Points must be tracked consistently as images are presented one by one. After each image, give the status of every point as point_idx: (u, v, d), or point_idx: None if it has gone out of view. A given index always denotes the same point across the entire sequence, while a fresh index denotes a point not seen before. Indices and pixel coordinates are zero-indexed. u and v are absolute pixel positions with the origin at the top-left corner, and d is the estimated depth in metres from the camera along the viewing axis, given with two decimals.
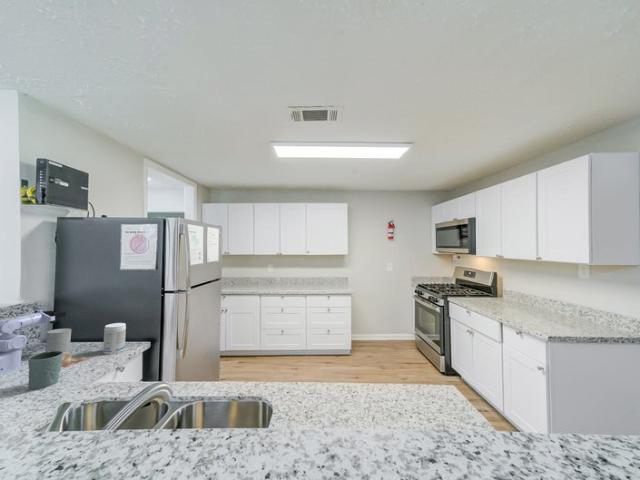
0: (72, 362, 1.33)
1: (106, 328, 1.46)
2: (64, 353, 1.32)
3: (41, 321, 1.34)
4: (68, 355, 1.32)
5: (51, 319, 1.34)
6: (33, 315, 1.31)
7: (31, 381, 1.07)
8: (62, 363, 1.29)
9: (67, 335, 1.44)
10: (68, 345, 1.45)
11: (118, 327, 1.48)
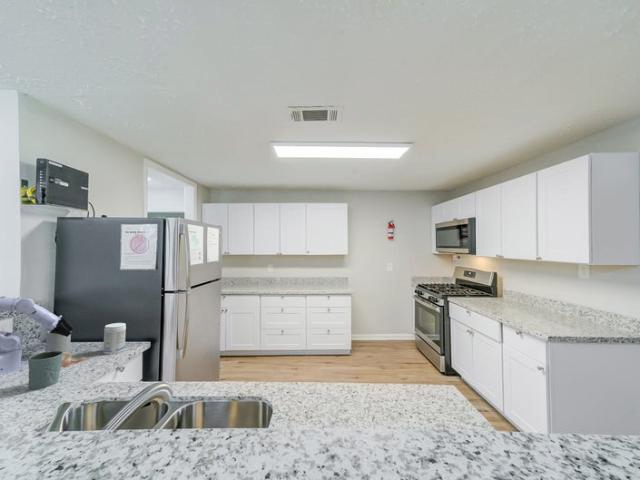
0: (72, 362, 1.33)
1: (106, 328, 1.46)
2: (64, 353, 1.32)
3: (48, 324, 1.31)
4: (68, 355, 1.32)
5: (50, 326, 1.28)
6: (50, 314, 1.32)
7: (31, 381, 1.07)
8: (62, 363, 1.29)
9: None
10: (68, 345, 1.45)
11: (118, 327, 1.48)
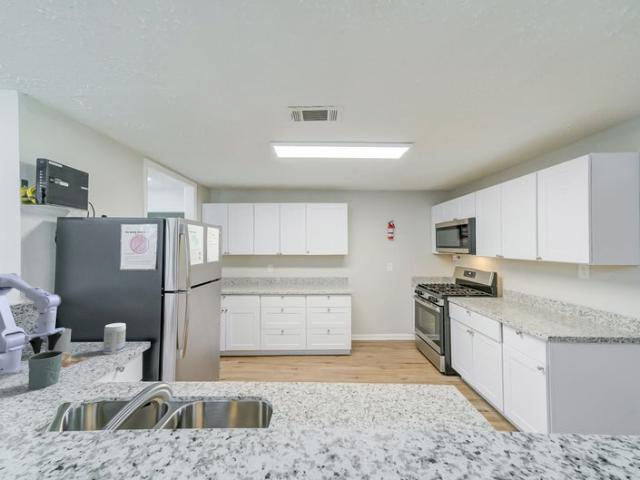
0: (72, 362, 1.33)
1: (106, 328, 1.46)
2: (64, 353, 1.32)
3: (37, 331, 1.22)
4: (68, 355, 1.32)
5: (26, 336, 1.17)
6: (47, 325, 1.23)
7: (31, 381, 1.07)
8: (62, 363, 1.29)
9: (67, 335, 1.44)
10: (68, 345, 1.45)
11: (118, 327, 1.48)
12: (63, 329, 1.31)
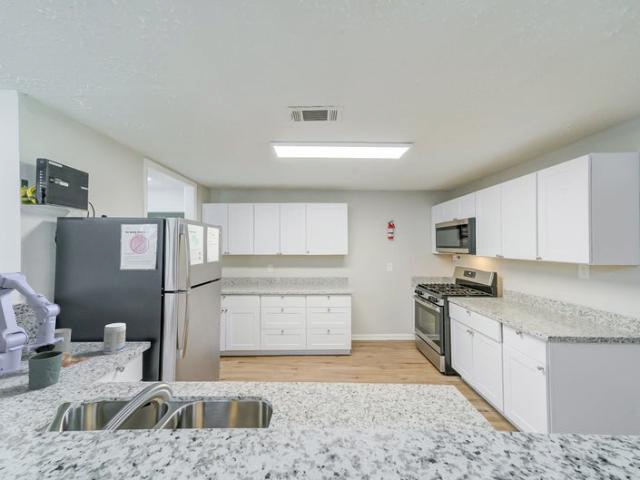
0: (72, 362, 1.33)
1: (106, 328, 1.46)
2: (64, 353, 1.32)
3: (36, 341, 1.22)
4: (68, 355, 1.32)
5: (25, 347, 1.17)
6: (46, 335, 1.22)
7: (31, 381, 1.07)
8: (62, 363, 1.29)
9: (67, 335, 1.44)
10: (68, 345, 1.45)
11: (118, 327, 1.48)
12: (62, 339, 1.30)
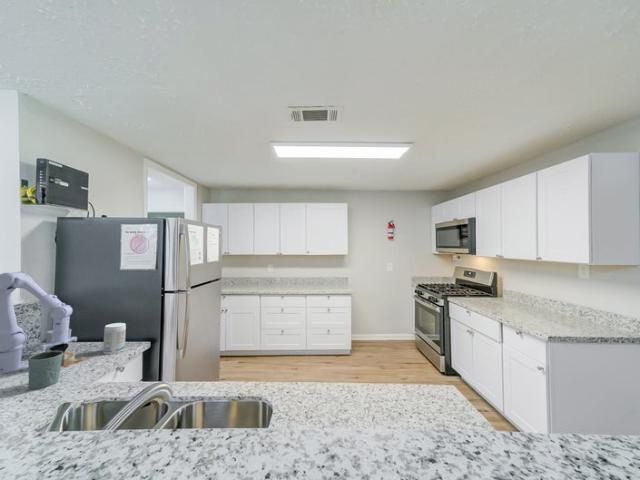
0: (72, 362, 1.33)
1: (106, 328, 1.46)
2: (68, 352, 1.34)
3: (51, 341, 1.28)
4: (71, 354, 1.33)
5: (41, 346, 1.23)
6: (61, 335, 1.28)
7: (31, 381, 1.07)
8: (66, 362, 1.31)
9: None
10: None
11: (118, 327, 1.48)
12: (75, 338, 1.36)
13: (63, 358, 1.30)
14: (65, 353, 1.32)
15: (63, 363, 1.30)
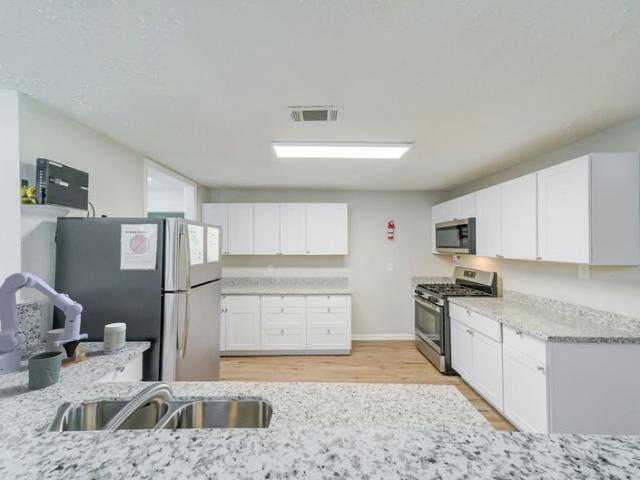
0: (72, 362, 1.33)
1: (106, 328, 1.46)
2: (79, 348, 1.39)
3: (64, 337, 1.33)
4: (83, 350, 1.39)
5: (54, 342, 1.28)
6: (73, 332, 1.34)
7: (31, 381, 1.07)
8: (77, 358, 1.36)
9: None
10: None
11: (118, 327, 1.48)
12: (86, 335, 1.41)
13: (75, 354, 1.36)
14: (76, 349, 1.38)
15: (74, 359, 1.35)
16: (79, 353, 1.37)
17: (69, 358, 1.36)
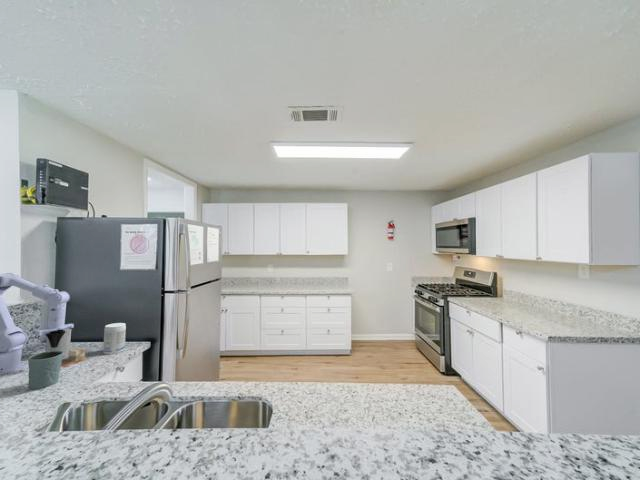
0: (72, 362, 1.33)
1: (106, 328, 1.46)
2: (79, 348, 1.39)
3: None
4: (82, 350, 1.39)
5: (37, 332, 1.21)
6: (57, 321, 1.27)
7: (31, 381, 1.07)
8: (77, 358, 1.36)
9: (67, 335, 1.44)
10: (68, 345, 1.45)
11: (118, 327, 1.48)
12: (72, 325, 1.35)
13: (75, 354, 1.36)
14: (76, 349, 1.38)
15: (74, 359, 1.35)
16: (79, 353, 1.37)
17: (69, 358, 1.36)
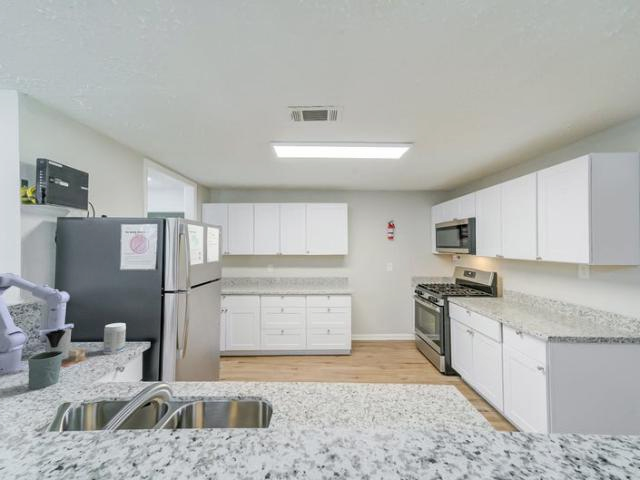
0: (72, 362, 1.33)
1: (106, 328, 1.46)
2: (79, 348, 1.39)
3: None
4: (82, 350, 1.39)
5: (37, 332, 1.21)
6: (57, 321, 1.27)
7: (31, 381, 1.07)
8: (77, 358, 1.36)
9: (67, 335, 1.44)
10: (68, 345, 1.45)
11: (118, 327, 1.48)
12: (72, 325, 1.35)
13: (75, 354, 1.36)
14: (76, 349, 1.38)
15: (74, 359, 1.35)
16: (79, 353, 1.37)
17: (69, 358, 1.36)
